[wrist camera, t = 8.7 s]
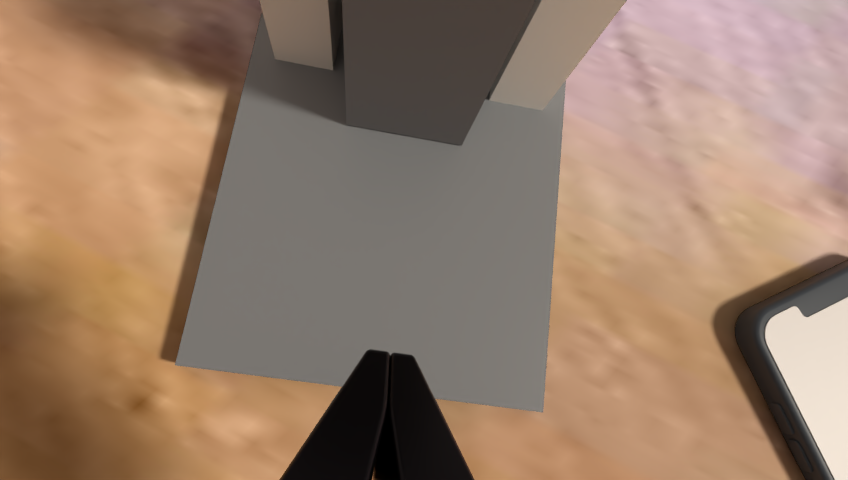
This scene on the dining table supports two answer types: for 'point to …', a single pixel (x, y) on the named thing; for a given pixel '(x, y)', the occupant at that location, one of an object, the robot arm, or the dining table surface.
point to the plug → (425, 62)
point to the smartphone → (804, 368)
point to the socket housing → (387, 219)
